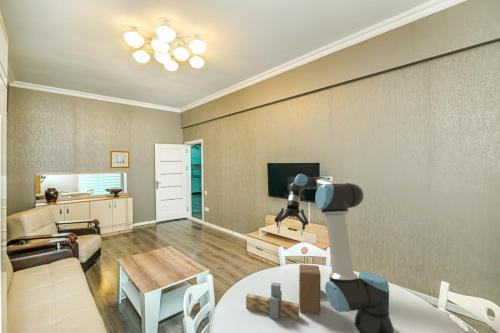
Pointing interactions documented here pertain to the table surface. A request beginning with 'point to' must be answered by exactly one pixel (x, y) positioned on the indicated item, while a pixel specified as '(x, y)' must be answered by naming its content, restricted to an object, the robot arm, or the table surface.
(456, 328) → the table surface
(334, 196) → the robot arm
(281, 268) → the table surface
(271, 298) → the grey stepped block
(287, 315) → the oak slotted plate
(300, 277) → the wooden block
